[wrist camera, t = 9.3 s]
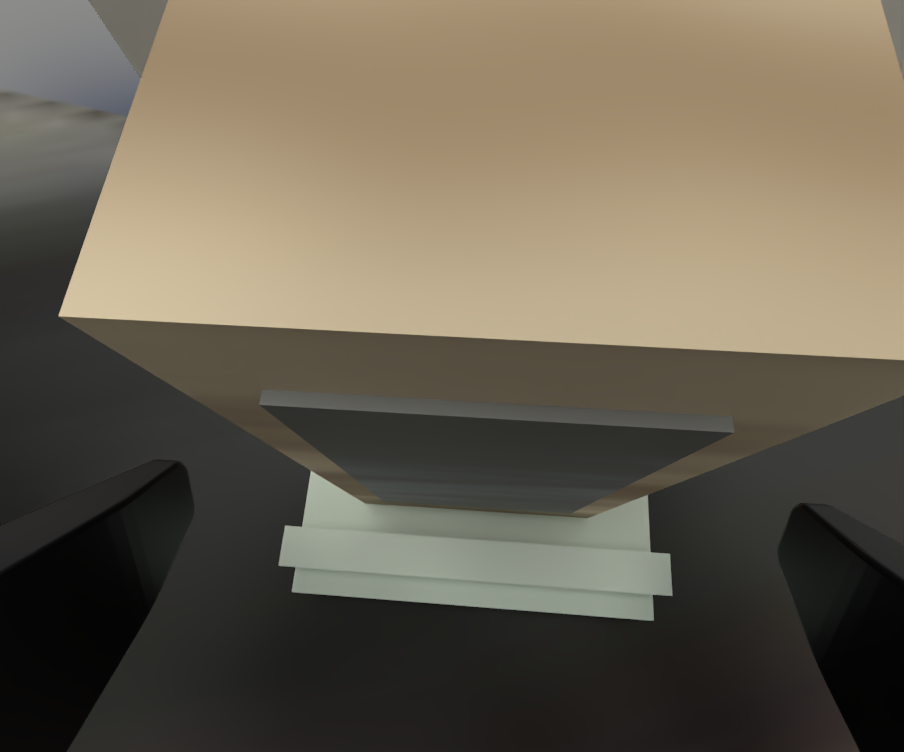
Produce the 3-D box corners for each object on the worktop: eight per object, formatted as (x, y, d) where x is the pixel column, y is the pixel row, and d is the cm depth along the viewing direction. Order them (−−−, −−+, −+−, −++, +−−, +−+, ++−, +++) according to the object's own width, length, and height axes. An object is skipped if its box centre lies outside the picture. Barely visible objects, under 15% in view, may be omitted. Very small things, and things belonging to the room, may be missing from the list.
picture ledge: (632, 614, 16) (1335, 822, 3) (311, 589, 17) (-256, 677, 4) (622, 364, 19) (975, -87, 6) (346, 349, 20) (99, -101, 6)
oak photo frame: (587, 523, 15) (989, 386, 4) (364, 508, 16) (50, 335, 4) (585, 402, 17) (879, -1, 5) (378, 390, 17) (173, -17, 5)
